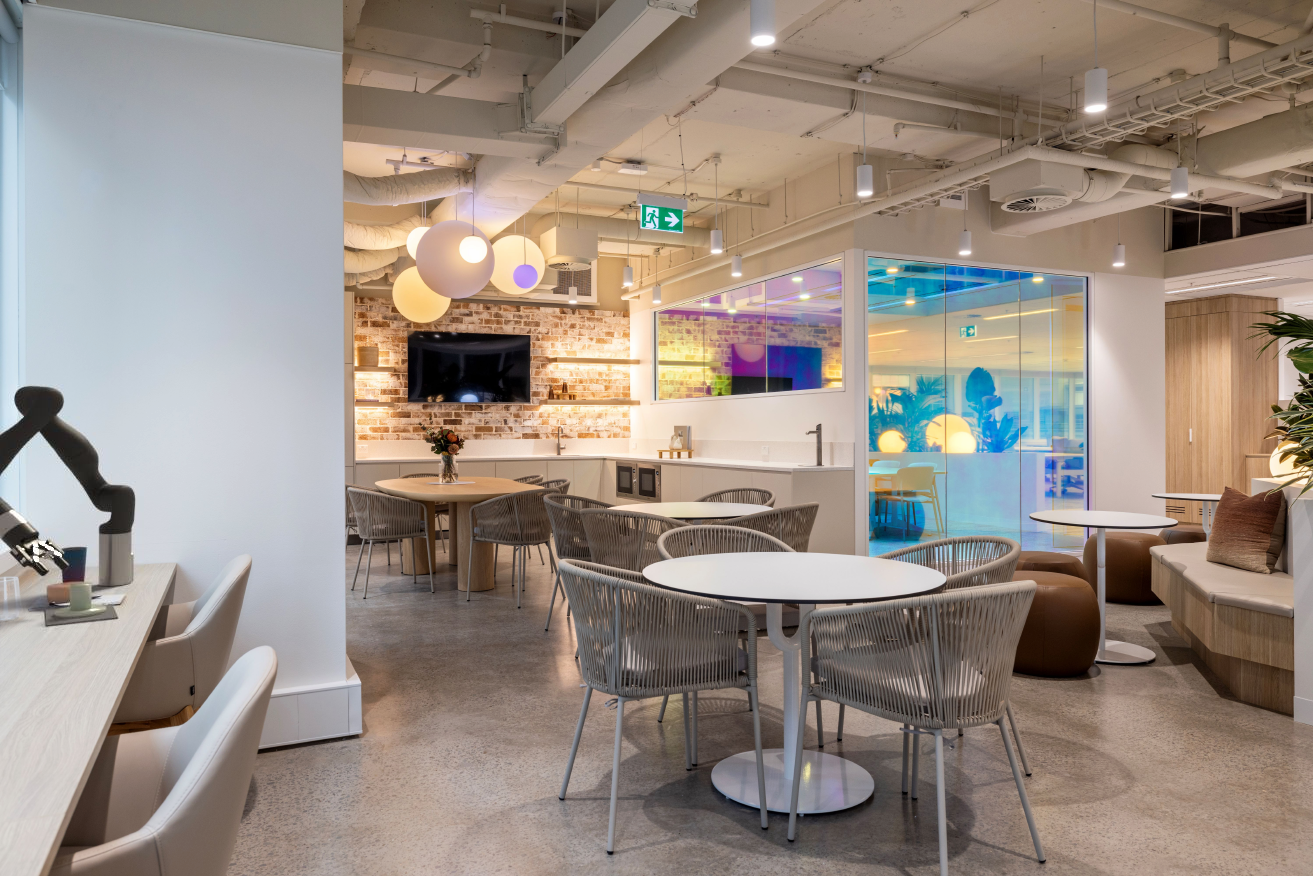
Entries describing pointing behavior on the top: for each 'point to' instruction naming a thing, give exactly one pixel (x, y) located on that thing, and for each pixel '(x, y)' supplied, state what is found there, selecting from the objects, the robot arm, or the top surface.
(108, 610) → the mat
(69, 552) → the cup
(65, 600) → the bowl
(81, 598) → the lid
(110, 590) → the top surface
